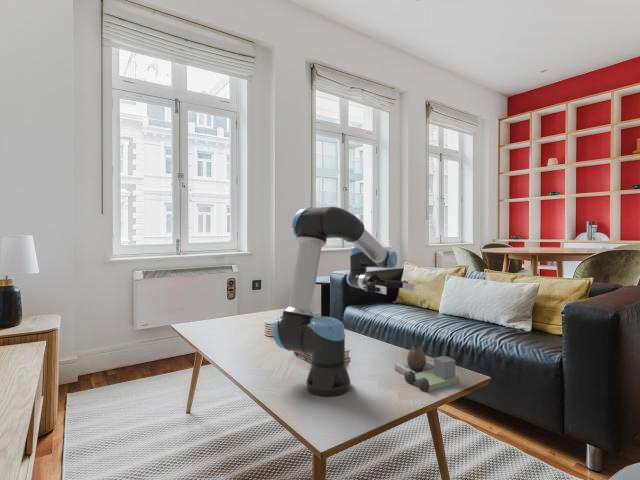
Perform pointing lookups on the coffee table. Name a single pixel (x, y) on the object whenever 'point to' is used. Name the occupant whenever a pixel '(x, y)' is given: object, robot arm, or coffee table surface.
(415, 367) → the vase
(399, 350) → the coffee table surface
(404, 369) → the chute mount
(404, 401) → the coffee table surface
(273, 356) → the coffee table surface
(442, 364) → the toy truck
